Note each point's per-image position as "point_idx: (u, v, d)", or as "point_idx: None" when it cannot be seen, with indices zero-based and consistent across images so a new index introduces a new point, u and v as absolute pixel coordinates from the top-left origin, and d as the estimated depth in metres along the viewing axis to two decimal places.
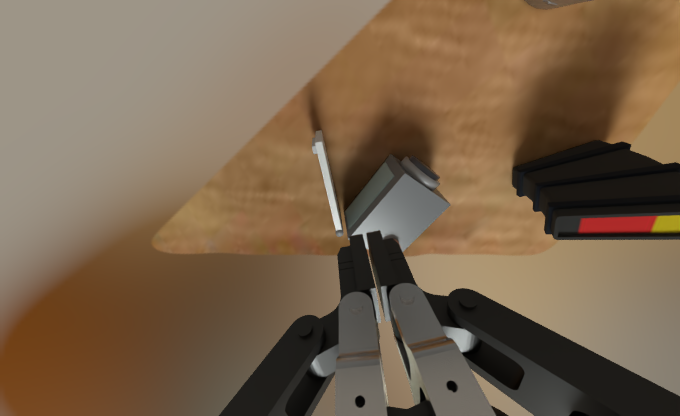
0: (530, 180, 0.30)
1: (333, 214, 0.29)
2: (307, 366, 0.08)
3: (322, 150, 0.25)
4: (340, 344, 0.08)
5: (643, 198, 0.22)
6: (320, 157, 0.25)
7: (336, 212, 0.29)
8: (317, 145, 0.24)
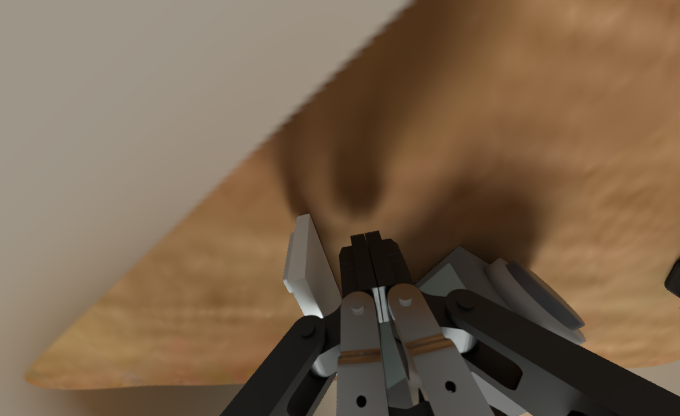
0: None
1: None
2: (309, 365, 0.08)
3: (308, 294, 0.10)
4: (341, 344, 0.08)
5: None
6: (304, 306, 0.10)
7: None
8: (294, 286, 0.09)
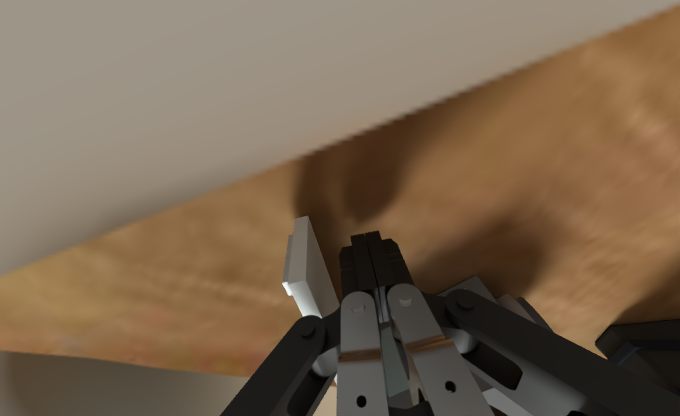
0: (654, 369, 0.19)
1: None
2: (309, 365, 0.08)
3: (308, 297, 0.10)
4: (341, 344, 0.08)
5: None
6: (304, 309, 0.10)
7: None
8: (294, 289, 0.09)
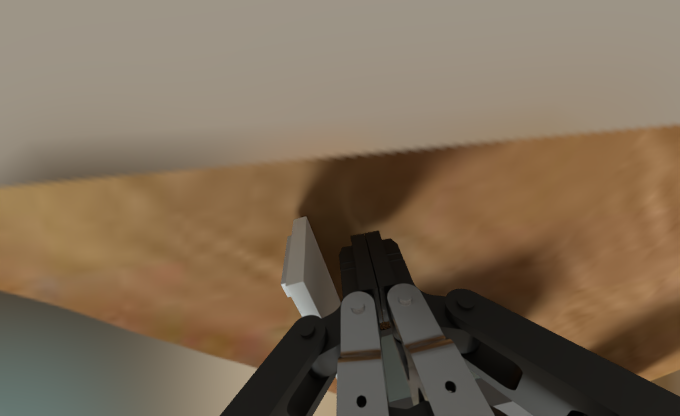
0: None
1: None
2: (309, 365, 0.08)
3: (307, 298, 0.10)
4: (341, 344, 0.08)
5: None
6: (303, 310, 0.10)
7: None
8: (292, 290, 0.09)
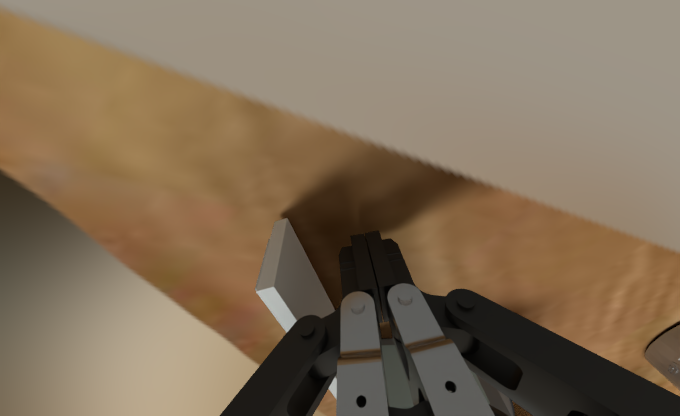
0: None
1: (333, 390, 0.13)
2: (309, 365, 0.08)
3: (280, 303, 0.09)
4: (341, 344, 0.08)
5: None
6: (278, 315, 0.10)
7: None
8: (264, 295, 0.09)
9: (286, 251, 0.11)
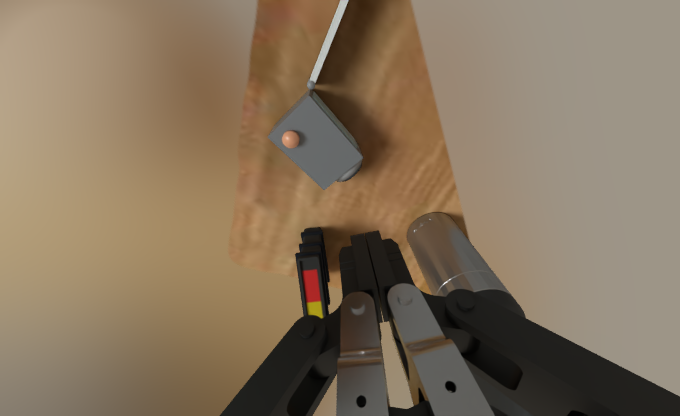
0: (318, 238, 0.42)
1: (319, 58, 0.27)
2: (309, 365, 0.08)
3: None
4: (341, 344, 0.08)
5: (326, 292, 0.38)
6: None
7: (323, 58, 0.27)
8: None
9: None
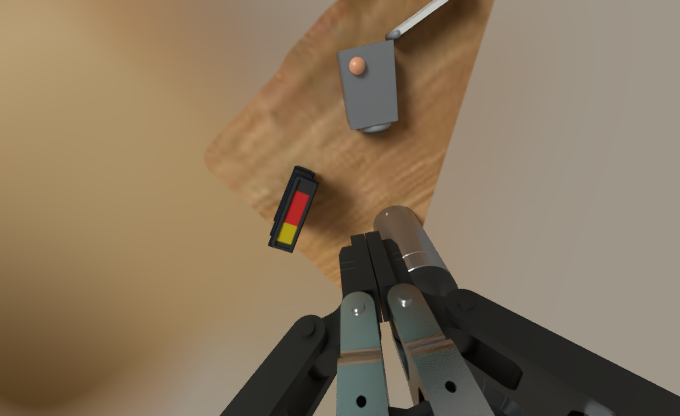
0: (310, 177, 0.43)
1: (416, 17, 0.31)
2: (309, 365, 0.08)
3: None
4: (341, 344, 0.08)
5: (303, 223, 0.38)
6: None
7: (418, 20, 0.31)
8: None
9: None
